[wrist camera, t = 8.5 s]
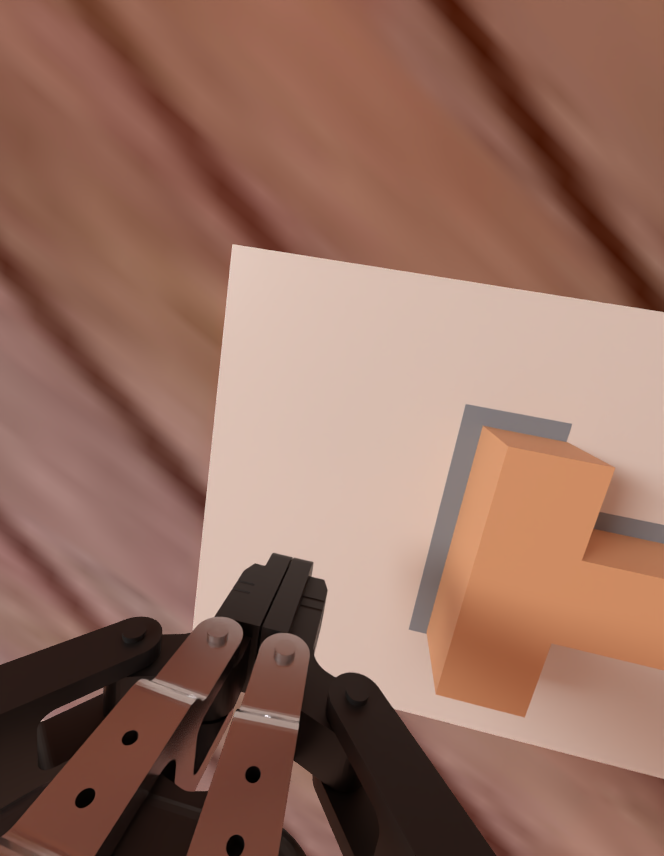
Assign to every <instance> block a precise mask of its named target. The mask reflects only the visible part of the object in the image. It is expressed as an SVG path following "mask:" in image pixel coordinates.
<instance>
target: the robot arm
mask: <svg viewBox="0 0 664 856" xmlns="http://www.w3.org/2000/svg"><path fill="white" fill-rule="evenodd" d="M313 564H314V562H312V561H307V560H303V559H299V558H295V557H294V558H293V557H290V556H286V555H281V554H277V553H272V555H271V556H270V558H269V560H268V562H267V564H266V565H265V566H264V565H260V564H256V563H255V564H253V565H252V566H250V567H248V568H247V569H245V570H244V571H243V573H242V574H241V576H240V577H239V579H238V581H237V582H236V584H235V585H234V587H233V589H232V590H231V591H230V593H229V595H228V596H227V598H226V599H225V601H224V602H223V604H222V605H221V607H220V609H219V610H218V612H217V613H216V615H215V616H214V617H213V618H209V619H206V620H204V621H202V622H201V623H200V624H198V625H197V626H196V627H195V629H194V630H193V631H192V632H191V633H188V634H165V635H162V627H161V625H160V624H159V622H157V621H156V620H154V619H152V618H149V617H133V618H129V619H126V620H123V621H120V622H118V623H115V624H112V625H109V626H107V627H104V628H101V629H98V630H96V631H93V632H90V633H87V634H84V635H82V636H79V637H76V638H73V639H71V640H68V641H65V642H62V643H60V644H57V645H54V646H51V647H49V648H46V649H43V650H40V651H38V652H35V653H32V654H29V655H27V656H24V657H21V658H18V659H16V660H13V661H10V662H7V663H5V664H2V665H0V856H306V854H305V853H304V851H303V850H302V848H301V847H300V845H299V844H298V843H297V842H296V840H295V839H294V838H293V837H292V836H291V835H290V834H289V833H288V832H287V831H286V830H285V829H284V828H283V822H284V816H285V809H286V803H287V797H288V791H289V784H290V778H291V772H292V766H293V760H294V761H295V762H297V763H298V764H299V765H301V766H302V767H303V768H305V769H306V770H307V771H309V772H310V773H311V774H313V775H312V776H313V785H314V788H315V791H316V793H317V796H318V798H319V800H320V803H321V805H322V807H323V810H324V812H325V814H326V817H327V819H328V821H329V824H330V826H331V828H332V831H333V833H334V835H335V838H336V840H337V843H338V845H339V847H340V850H341V852H342V854H343V856H496V855H495V853H494V852H493V850H492V849H491V847H490V846H489V845H488V843H487V842H486V840H485V839H484V837H483V836H482V835H481V833H480V832H479V830H478V829H477V827H476V826H475V825H474V823H473V822H472V820H471V819H470V817H469V816H468V815H467V813H466V812H465V810H464V809H463V807H462V806H461V805H460V803H459V802H458V800H457V799H456V797H455V796H454V795H453V793H452V792H451V790H450V789H449V787H448V786H447V784H446V783H445V782H444V780H443V779H442V777H441V776H440V774H439V773H438V772H437V770H436V769H435V767H434V766H433V764H432V763H431V762H430V760H429V759H428V757H427V756H426V754H425V753H424V752H423V750H422V749H421V747H420V746H419V744H418V743H417V742H416V740H415V739H414V737H413V736H412V734H411V733H410V732H409V730H408V729H407V727H406V726H405V724H404V723H403V722H402V720H401V719H400V717H399V716H398V714H397V713H396V712H395V710H394V709H393V707H392V706H391V704H390V703H389V702H388V700H387V699H386V697H385V696H384V694H383V693H382V691H381V690H380V689H379V687H378V686H377V685H376V683H374V682H373V681H372V680H371V679H370V678H368V677H366V676H365V675H362V674H359V673H354V672H348V673H343V674H341V675H339V676H337V677H334V676H333V675H331V674H329V673H328V672H326V671H325V670H324V669H323V668H322V667H321V666H320V665H319V664H318V662H317V661H316V658H315V656H314V654H315V649H316V645H317V641H318V637H319V633H320V629H321V624H322V619H323V614H324V608H325V603H326V597H327V592H328V589H327V586H326V583H325V580H323V579H319V578H315V577H312V571H313ZM103 687H104V688H103ZM101 688H103V694H101V695H99V696H96V697H94V698H92V699H90V700H88V701H86V702H84V703H82V704H79V705H77V706H75V707H73V708H71V709H69V710H67V711H64V712H62V713H60V714H58V715H56V716H54V717H52V718H49V719H47V720H45V721H42V722H41V720H42V719H43V718H44V717H45V716H46V715H47V714H49V713H50V712H51V711H53V710H55V709H57V708H59V707H61V706H63V705H66V704H68V703H70V702H72V701H74V700H76V699H79V698H81V697H83V696H85V695H87V694H90V693H92V692H94V691H96V690H98V689H101ZM241 692H244V693H245V695H244V698H243V701H242V704H241V707H240V709H237V710H236V712H235V714H234V716H233V719H232V722H231V725H230V728H229V731H228V734H227V737H226V740H225V743H224V746H223V749H222V752H221V755H220V758H219V761H218V764H217V767H216V770H215V773H214V776H213V779H212V782H211V785H210V788H209V790H208V791H195V790H196V788H197V785H198V783H199V781H200V779H201V778H202V776H203V774H204V772H205V770H206V768H207V766H208V764H209V762H210V760H211V758H212V756H213V754H214V752H215V750H216V748H217V746H218V744H219V742H220V740H221V738H222V736H223V734H224V732H225V730H226V729H227V727H228V725H229V723H230V721H231V718H232V715H233V710H234V706H235V704H236V702H237V700H238V697H239V695H240V693H241Z"/></svg>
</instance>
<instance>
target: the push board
mask: <svg viewBox="0 0 664 856" xmlns="http://www.w3.org/2000/svg"><path fill="white" fill-rule="evenodd" d="M483 426H487V427H492V428H497V429H503V430H508V431H513V432H518V433H523V434H528V435H533V436H538V437H544V438H549V439H554V440H559V441H564V442H568V443H570V444H572V445H574V446H576V447H577V448H579V449H581V450H583V451H585V452H587V453H589V454H591V455H592V456H594V457H596V458H598V459H600V460H602V461H604V462H606V463H608V464H609V465H611V466H613V467H615V471H614V473H613V476H612V479H611V482H610V484H609V487H608V490H607V493H606V495H605V498H604V501H603V504H602V506H601V509H600V512H599V515H598V517H597V520H596V523H595V526H594V528H593V529H597V530H602V531H606V532H611V533H616V534H621V535H625V536H630V537H635V538H639V539H644V540H649V541H653V542H658V543H663V544H664V312H658V311H652V310H646V309H639V308H633V307H627V306H620V305H614V304H608V303H601V302H595V301H589V300H582V299H576V298H570V297H563V296H557V295H551V294H544V293H538V292H532V291H525V290H519V289H513V288H506V287H500V286H493V285H487V284H481V283H474V282H468V281H462V280H455V279H449V278H443V277H436V276H430V275H424V274H417V273H411V272H405V271H398V270H392V269H386V268H379V267H373V266H367V265H360V264H354V263H348V262H341V261H335V260H329V259H322V258H316V257H310V256H303V255H297V254H291V253H284V252H278V251H272V250H265V249H259V248H253V247H246V246H240V245H234V244H232V254H231V263H230V273H229V283H228V292H227V302H226V312H225V321H224V331H223V341H222V350H221V360H220V370H219V379H218V389H217V399H216V409H215V418H214V428H213V438H212V447H211V457H210V467H209V476H208V486H207V496H206V505H205V515H204V525H203V534H202V544H201V554H200V563H199V573H198V583H197V592H196V602H195V612H194V621H193V630H194V629H195V627H196V626H197V625H198V624H200V623H201V622H202V621H204V620H206V619H209V618H213V617H214V616H215V615H216V613H217V612H218V610H219V609H220V607H221V605H222V604H223V602H224V601H225V599H226V598H227V596H228V595H229V593H230V591H231V590H232V589H233V587H234V585H235V584H236V582H237V581H238V579H239V577H240V576H241V574H242V573H243V571H244V570H245V569H247V568H248V567H250V566H252V565H253V564H255V563H256V564H260V565H264V566H265V565H266V564H267V562H268V560H269V558H270V556H271V555H272V553H277V554H281V555H286V556H290V557H293V558H294V557H295V558H299V559H303V560H307V561H312V562H314V564H313V571H312V577H315V578H319V579H323V580H325V583H326V586H327V589H328V592H327V597H326V603H325V608H324V614H323V619H322V624H321V629H320V633H319V637H318V641H317V645H316V649H315V654H314V656H315V658H316V661H317V662H318V664H319V665H320V666H321V667H322V668H323V669H324V670H325V671H326V672H328V673H329V674H331V675H333V676H334V677H337V676H339V675H341V674H343V673H348V672H354V673H359V674H362V675H365V676H366V677H368V678H370V679H371V680H372V681H373V682H374V683H376V685H377V686H378V687H379V689H380V690H381V691H382V693H383V694H384V696H385V697H386V699H387V700H388V702H389V703H390V704H391V706H392V707H393V709H397V710H401V711H405V712H409V713H413V714H416V715H420V716H424V717H428V718H432V719H436V720H439V721H443V722H447V723H451V724H455V725H459V726H463V727H466V728H470V729H474V730H478V731H482V732H486V733H489V734H493V735H497V736H501V737H505V738H509V739H513V740H516V741H520V742H524V743H528V744H532V745H536V746H539V747H543V748H547V749H551V750H555V751H559V752H563V753H566V754H570V755H574V756H578V757H582V758H586V759H589V760H593V761H597V762H601V763H605V764H609V765H613V766H616V767H620V768H624V769H628V770H632V771H636V772H639V773H643V774H647V775H651V776H655V777H659V778H662V779H664V670H660V669H656V668H651V667H647V666H643V665H639V664H635V663H631V662H627V661H622V660H618V659H614V658H610V657H606V656H602V655H597V654H593V653H589V652H585V651H581V650H577V649H573V648H568V647H564V646H560V645H556V644H551V647H550V649H549V652H548V655H547V658H546V660H545V663H544V666H543V669H542V671H541V674H540V677H539V680H538V682H537V685H536V688H535V691H534V694H533V696H532V699H531V702H530V705H529V707H528V710H527V713H526V716H525V718H524V717H521V716H517V715H513V714H509V713H505V712H501V711H497V710H493V709H490V708H486V707H482V706H478V705H474V704H470V703H466V702H463V701H459V700H455V699H451V698H447V697H443V696H439V695H436V693H435V687H434V680H433V673H432V666H431V659H430V653H429V646H428V639H427V628H428V625H429V621H430V617H431V614H432V610H433V606H434V603H435V599H436V595H437V592H438V588H439V584H440V581H441V577H442V573H443V570H444V566H445V562H446V559H447V555H448V551H449V548H450V544H451V540H452V537H453V533H454V529H455V526H456V522H457V518H458V515H459V511H460V507H461V504H462V500H463V496H464V493H465V489H466V485H467V482H468V478H469V474H470V471H471V467H472V463H473V460H474V456H475V452H476V449H477V445H478V441H479V438H480V434H481V430H482V427H483Z"/></svg>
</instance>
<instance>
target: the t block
mask: <svg viewBox="0 0 664 856" xmlns="http://www.w3.org/2000/svg"><path fill="white" fill-rule="evenodd" d="M614 471H615V467H613V466H611V465H609V464H608V463H606V462H604V461H602V460H600V459H598V458H596V457H594V456H592V455H591V454H589V453H587V452H585V451H583V450H581V449H579V448H577V447H576V446H574V445H572V444H570V443H568V442H564V441H559V440H554V439H549V438H544V437H538V436H533V435H528V434H523V433H518V432H513V431H508V430H503V429H497V428H492V427H487V426H483V427H482V430H481V434H480V438H479V441H478V445H477V449H476V452H475V456H474V460H473V463H472V467H471V471H470V474H469V478H468V482H467V485H466V489H465V493H464V496H463V500H462V504H461V507H460V511H459V515H458V518H457V522H456V526H455V529H454V533H453V537H452V540H451V544H450V548H449V551H448V555H447V559H446V562H445V566H444V570H443V573H442V577H441V581H440V584H439V588H438V592H437V595H436V599H435V603H434V606H433V610H432V614H431V617H430V621H429V625H428V628H427V639H428V646H429V653H430V659H431V666H432V673H433V680H434V687H435V693H436V695H439V696H443V697H447V698H451V699H455V700H459V701H463V702H466V703H470V704H474V705H478V706H482V707H486V708H490V709H493V710H497V711H501V712H505V713H509V714H513V715H517V716H521V717H524V718H525V716H526V713H527V710H528V707H529V705H530V702H531V699H532V696H533V694H534V691H535V688H536V685H537V682H538V680H539V677H540V674H541V671H542V669H543V666H544V663H545V660H546V658H547V655H548V652H549V649H550V647H551V644H556V645H560V646H564V647H568V648H573V649H577V650H581V651H585V652H589V653H593V654H597V655H602V656H606V657H610V658H614V659H618V660H622V661H627V662H631V663H635V664H639V665H643V666H647V667H651V668H656V669H660V670H664V544H663V543H658V542H653V541H649V540H644V539H639V538H635V537H630V536H625V535H621V534H616V533H611V532H606V531H602V530H597V529H593V528H594V526H595V523H596V520H597V517H598V515H599V512H600V509H601V506H602V504H603V501H604V498H605V495H606V493H607V490H608V487H609V484H610V482H611V479H612V476H613V473H614Z"/></svg>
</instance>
